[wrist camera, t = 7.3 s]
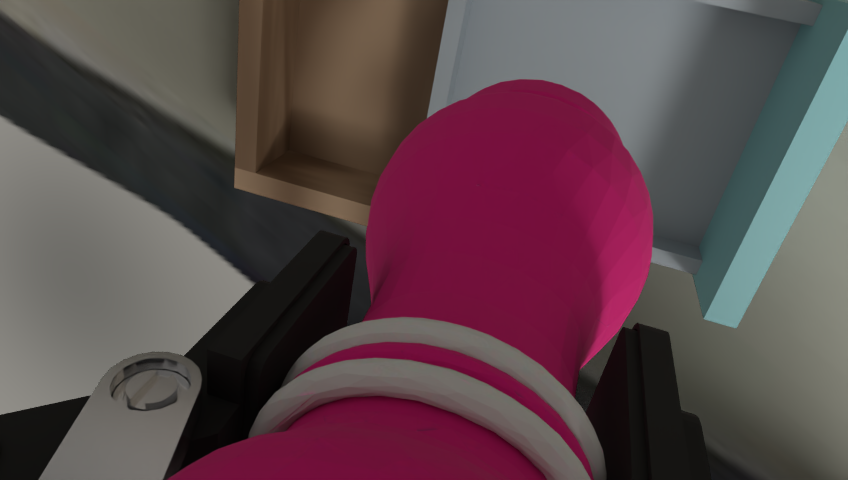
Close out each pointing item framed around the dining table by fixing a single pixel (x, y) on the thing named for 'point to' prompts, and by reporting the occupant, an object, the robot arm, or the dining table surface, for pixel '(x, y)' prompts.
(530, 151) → the pepper mill
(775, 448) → the dining table surface
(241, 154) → the cubby
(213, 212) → the dining table surface
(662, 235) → the drawer
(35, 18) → the dining table surface
